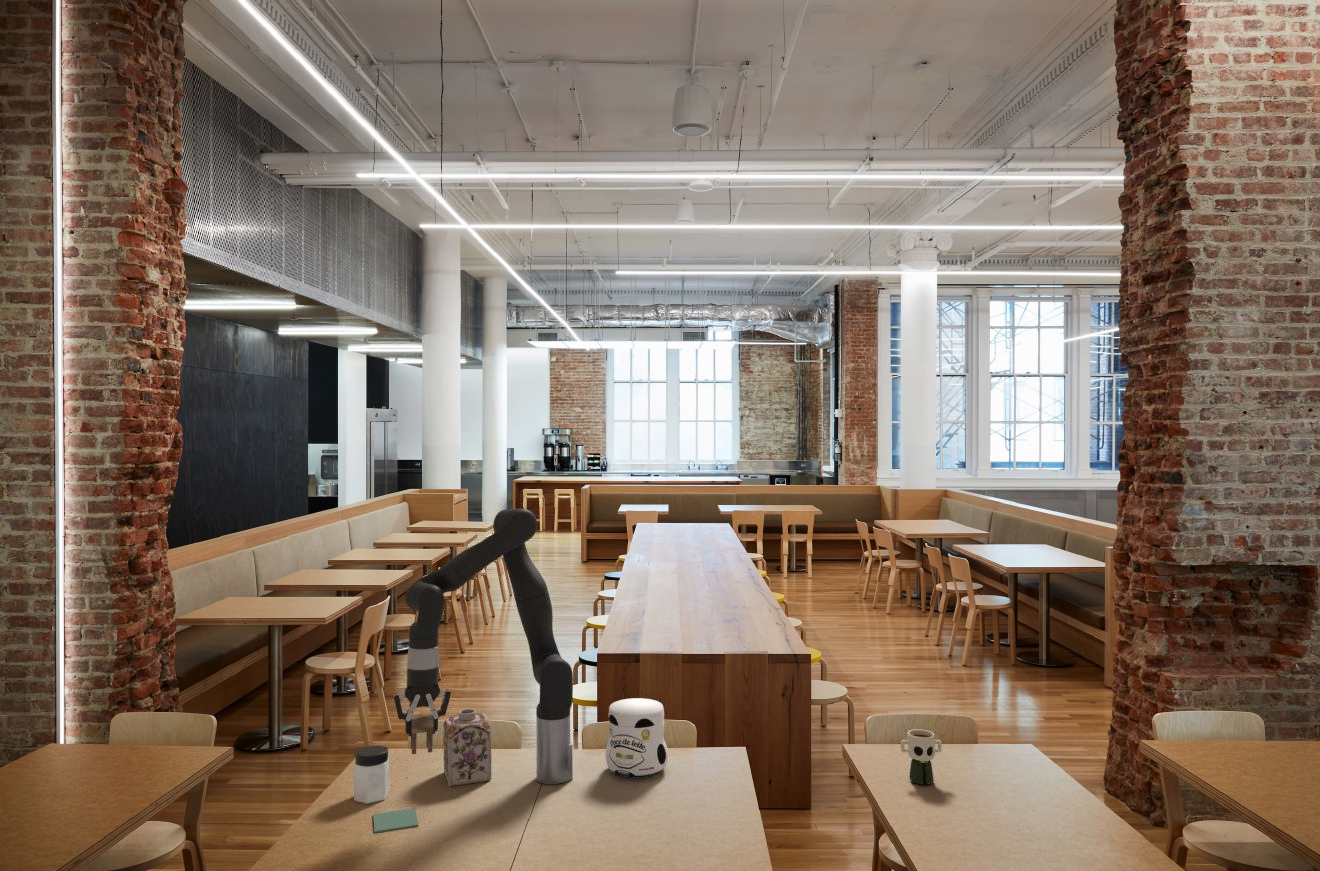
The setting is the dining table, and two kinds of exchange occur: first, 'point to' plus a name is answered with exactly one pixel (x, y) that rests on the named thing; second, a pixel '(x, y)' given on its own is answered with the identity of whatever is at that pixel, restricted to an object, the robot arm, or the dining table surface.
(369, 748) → the jar
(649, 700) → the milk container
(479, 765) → the decorative jar
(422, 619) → the robot arm
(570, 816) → the dining table surface
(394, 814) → the mat
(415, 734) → the pronged tan cube
